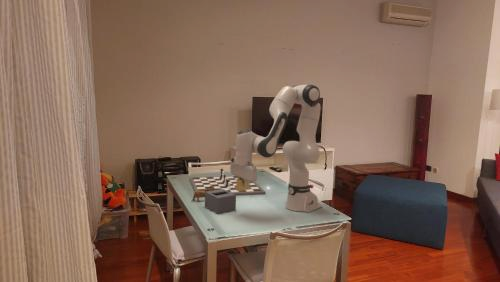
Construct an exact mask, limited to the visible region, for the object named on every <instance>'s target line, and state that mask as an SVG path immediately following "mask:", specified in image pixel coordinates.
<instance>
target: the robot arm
mask: <svg viewBox="0 0 500 282" xmlns="http://www.w3.org/2000/svg"><path fill="white" fill-rule="evenodd" d="M320 98H321V92H320V89H319V87H317V86H316V85H313V84H300V85H299V84H298V85H294V86H290V85H286V86H283V87H282V88H281V89H280V91H278V93H277V94H276V95H275V97H274V98H273V100H272V102H271V103H270V105H269V109H268V110H269V114H270V116H271V118H272V119H273V125H272V127H271V129H270V130H269V132H268V135H267V136H265V137H264V136H262V135H258V134H257V133H255V132H253V131H252V130H251V129H243V130H240V131H237V134H236V138H235V150H236V151H235V156H234V157H231V158H230V159H229V160H230V161H229V162H230V163H229V164H230V165H229V169H230V170H229V171H230V174H231V176H238V179H241V178H243V179H244V181H245V183H243V186H244V187H247V184H248V182H249V181H251V182H252V181H254V182H256V181H257V180H258V170H257V166H256V165H255V163H253V154H257V155H260V156H261V157H263V158H265V159H266V158H271V157H273V156H274V155H275V154H276V152H277V150H278V144H279V142H280V139H281V136H282V134H283V132H284V130H285V129H286V126H287V123H288V120H289V118H288V116H289V114H290V113H291V110H292V109H293V107H294V105H301V112H300V115H299V119H298V122H297V126H296V132H297V133H298V135H299V141H298V140H288V141H285V143H284V144H283V146H282V153H283V155H284V156H285V158H286V160H287V164H288V168H289V183H288V186H287V187H288V188H287V190H288V191H287V198H286V202H285V208H286V209H287V210H289V211H294V212H305V213H311V212H313V211H315V210H317V209H319V208H322V206H323V205H322V204H321V203H319V201H318V200H319V199H318V196H317V195H316V194H315V193H313V192H312V190H311V189H313V188H314V185H313V184H309V180H310V171H309V169H308V168H307V167H306V165H305V164H315V163H316V162H318V160H319V158H320V155H321V152H320V149H319V148H318V145H317V139H316V134H317V129H318V125H319V122H320V116H321V108H322V107H321V104H320V103H319V102H320Z"/></svg>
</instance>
